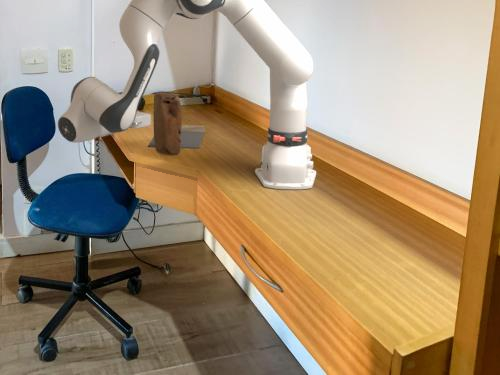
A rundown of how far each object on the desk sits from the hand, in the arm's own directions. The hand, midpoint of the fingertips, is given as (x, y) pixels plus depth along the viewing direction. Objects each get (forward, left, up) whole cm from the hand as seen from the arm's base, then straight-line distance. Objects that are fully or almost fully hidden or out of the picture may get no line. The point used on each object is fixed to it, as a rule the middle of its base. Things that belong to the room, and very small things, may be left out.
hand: (135, 112), depth 187 cm
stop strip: (+45, -9, -16) cm, 49 cm away
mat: (+32, -9, -16) cm, 37 cm away
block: (+15, -8, -17) cm, 24 cm away
